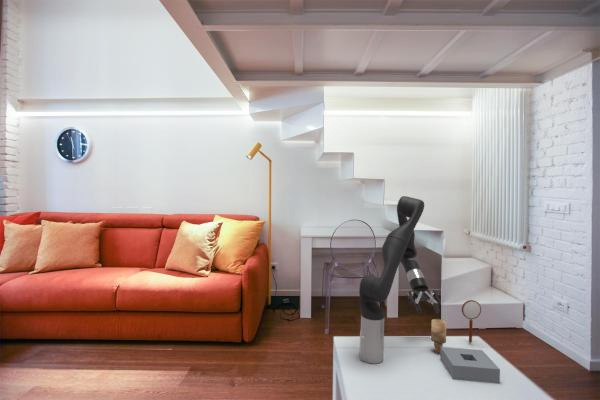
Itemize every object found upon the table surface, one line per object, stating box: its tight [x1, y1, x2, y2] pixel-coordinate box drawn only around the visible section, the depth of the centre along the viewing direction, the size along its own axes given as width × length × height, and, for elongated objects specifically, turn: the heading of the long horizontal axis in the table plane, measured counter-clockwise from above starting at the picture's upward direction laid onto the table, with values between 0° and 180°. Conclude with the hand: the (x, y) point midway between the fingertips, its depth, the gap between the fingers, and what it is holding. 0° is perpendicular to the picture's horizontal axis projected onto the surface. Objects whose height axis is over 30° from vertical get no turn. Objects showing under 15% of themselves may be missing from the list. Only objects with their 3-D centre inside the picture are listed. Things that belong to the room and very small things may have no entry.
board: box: [439, 346, 501, 384], centre depth 120 cm, size 16×14×5 cm
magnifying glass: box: [461, 299, 482, 345], centre depth 141 cm, size 9×2×20 cm, turn 91°
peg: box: [430, 318, 447, 354], centre depth 133 cm, size 6×6×13 cm
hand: (429, 312), depth 141 cm, fingers open, 8 cm apart
